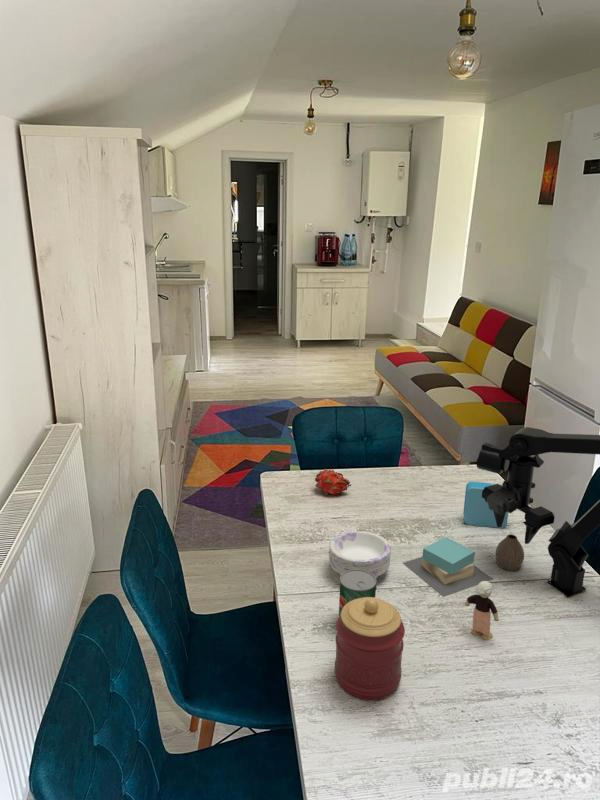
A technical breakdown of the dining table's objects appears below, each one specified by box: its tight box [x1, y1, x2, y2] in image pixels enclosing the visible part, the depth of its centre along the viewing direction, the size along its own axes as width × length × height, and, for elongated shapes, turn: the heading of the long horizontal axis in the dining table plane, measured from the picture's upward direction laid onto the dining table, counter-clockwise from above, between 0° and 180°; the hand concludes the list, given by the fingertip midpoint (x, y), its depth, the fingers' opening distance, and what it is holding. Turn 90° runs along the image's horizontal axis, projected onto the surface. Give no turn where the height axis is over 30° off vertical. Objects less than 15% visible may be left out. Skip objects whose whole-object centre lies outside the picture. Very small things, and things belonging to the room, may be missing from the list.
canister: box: [334, 597, 406, 701], centre depth 116 cm, size 13×13×18 cm
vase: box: [494, 533, 525, 571], centre depth 155 cm, size 7×7×9 cm
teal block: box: [421, 536, 476, 575], centre depth 152 cm, size 9×9×3 cm
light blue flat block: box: [462, 481, 509, 529], centre depth 176 cm, size 12×4×12 cm, turn 79°
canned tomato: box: [338, 569, 377, 617], centre depth 133 cm, size 8×8×11 cm
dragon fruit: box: [314, 468, 352, 497], centre depth 195 cm, size 8×8×12 cm
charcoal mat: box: [402, 556, 494, 598], centre depth 153 cm, size 16×16×1 cm
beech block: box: [421, 555, 475, 585], centre depth 153 cm, size 9×9×3 cm
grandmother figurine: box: [464, 581, 500, 641], centre depth 130 cm, size 8×4×13 cm, turn 59°
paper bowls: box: [328, 530, 392, 579], centre depth 152 cm, size 15×15×8 cm
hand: (512, 535), depth 153 cm, fingers open, 9 cm apart
